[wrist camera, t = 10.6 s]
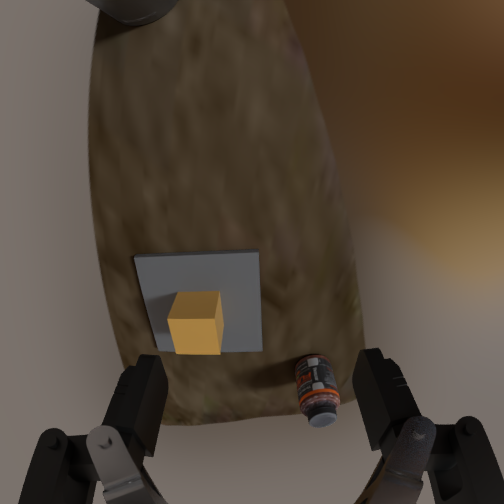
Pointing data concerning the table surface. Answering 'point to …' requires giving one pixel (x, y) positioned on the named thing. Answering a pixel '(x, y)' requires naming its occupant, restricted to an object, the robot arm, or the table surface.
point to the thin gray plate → (205, 279)
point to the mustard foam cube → (196, 322)
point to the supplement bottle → (317, 390)
